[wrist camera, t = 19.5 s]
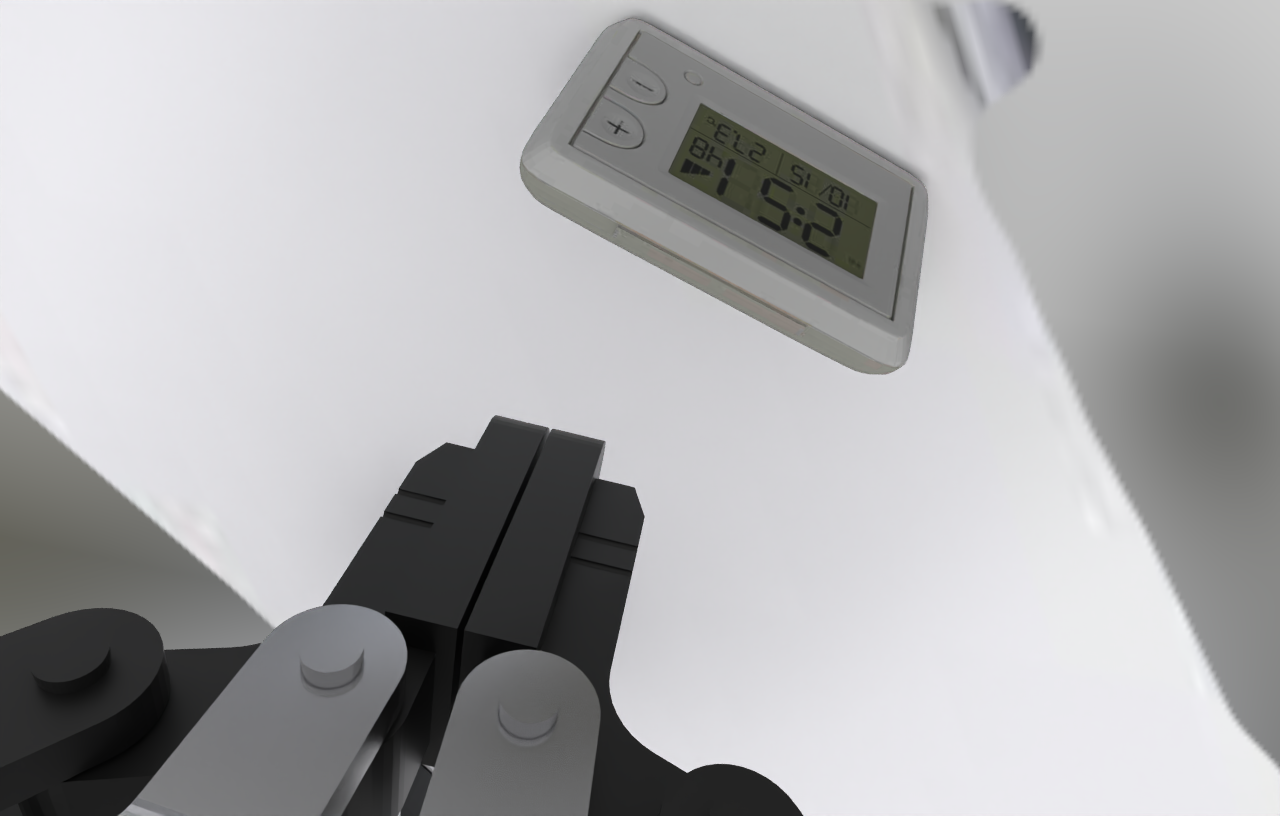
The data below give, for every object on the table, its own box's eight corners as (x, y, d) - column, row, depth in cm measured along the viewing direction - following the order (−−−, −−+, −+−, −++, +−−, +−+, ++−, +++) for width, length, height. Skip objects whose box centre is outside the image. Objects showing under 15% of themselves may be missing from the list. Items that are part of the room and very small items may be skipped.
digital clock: (946, 200, 37) (998, 298, 28) (804, 334, 41) (809, 455, 32) (667, -57, 33) (625, -40, 24) (544, 120, 38) (469, 190, 29)
